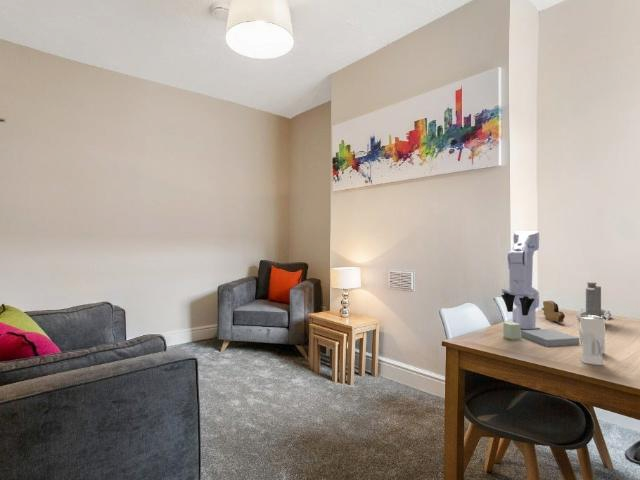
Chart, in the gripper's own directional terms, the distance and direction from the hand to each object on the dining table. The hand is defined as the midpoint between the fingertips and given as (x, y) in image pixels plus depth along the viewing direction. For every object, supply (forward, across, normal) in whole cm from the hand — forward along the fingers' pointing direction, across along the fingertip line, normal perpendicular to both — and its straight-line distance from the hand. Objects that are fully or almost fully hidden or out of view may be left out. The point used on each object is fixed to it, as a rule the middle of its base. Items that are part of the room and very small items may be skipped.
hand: (517, 313), depth 148 cm
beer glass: (+11, +29, +1) cm, 31 cm away
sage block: (+10, -2, -1) cm, 11 cm away
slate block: (+11, +5, +10) cm, 16 cm away
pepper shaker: (+11, +23, +12) cm, 28 cm away
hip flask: (+10, -8, +51) cm, 53 cm away
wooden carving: (+10, -19, +41) cm, 46 cm away
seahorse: (+10, -16, +64) cm, 67 cm away
